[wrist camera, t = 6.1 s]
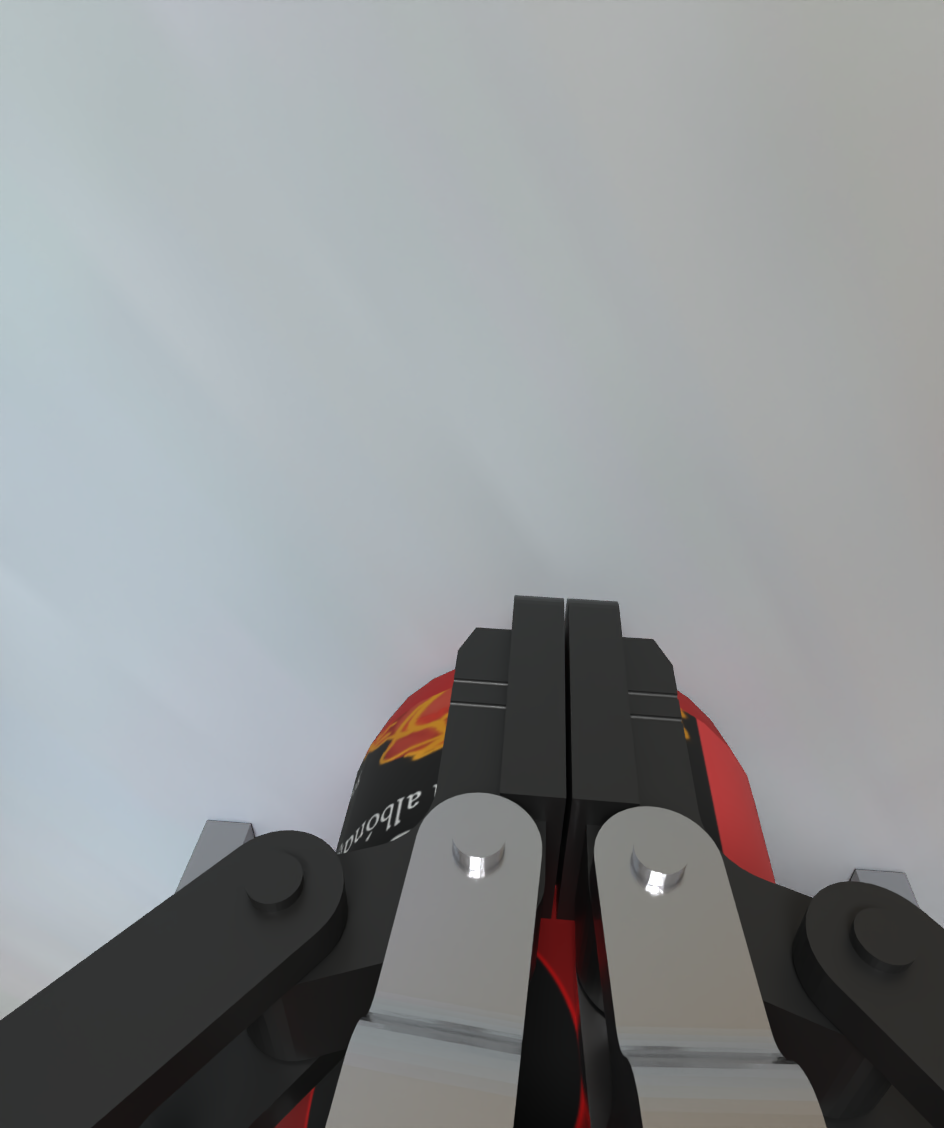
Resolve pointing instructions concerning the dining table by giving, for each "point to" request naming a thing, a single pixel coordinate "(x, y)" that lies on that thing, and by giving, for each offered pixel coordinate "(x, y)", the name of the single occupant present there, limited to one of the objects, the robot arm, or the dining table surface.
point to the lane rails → (231, 835)
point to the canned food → (550, 1042)
